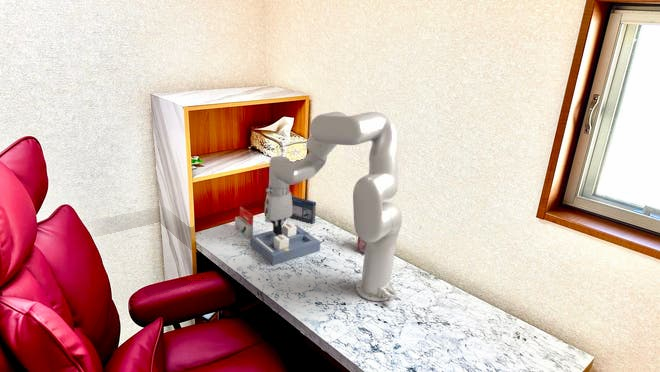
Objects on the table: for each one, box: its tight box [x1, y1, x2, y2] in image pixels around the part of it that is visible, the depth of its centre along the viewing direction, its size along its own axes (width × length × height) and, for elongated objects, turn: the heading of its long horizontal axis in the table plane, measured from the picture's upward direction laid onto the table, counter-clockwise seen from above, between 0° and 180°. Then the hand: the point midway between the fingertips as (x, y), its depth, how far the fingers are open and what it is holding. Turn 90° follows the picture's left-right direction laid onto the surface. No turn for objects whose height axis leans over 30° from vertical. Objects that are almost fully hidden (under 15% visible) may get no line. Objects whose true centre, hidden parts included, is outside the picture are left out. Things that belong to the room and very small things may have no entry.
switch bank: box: [249, 224, 321, 266], centre depth 166 cm, size 17×21×4 cm
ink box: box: [234, 205, 254, 239], centre depth 175 cm, size 2×11×10 cm, turn 40°
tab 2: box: [282, 222, 297, 237], centre depth 170 cm, size 4×4×6 cm
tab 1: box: [274, 235, 289, 251], centre depth 160 cm, size 4×4×6 cm
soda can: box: [356, 236, 366, 255], centre depth 168 cm, size 7×7×12 cm
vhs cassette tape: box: [289, 195, 317, 225], centre depth 191 cm, size 18×3×10 cm, turn 64°
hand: (277, 233), depth 167 cm, fingers closed
